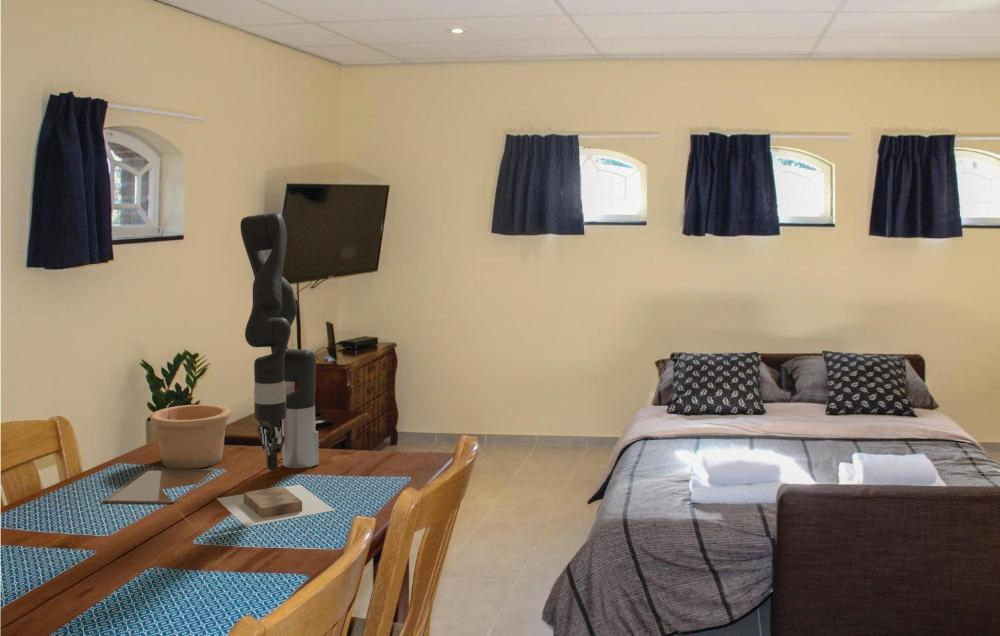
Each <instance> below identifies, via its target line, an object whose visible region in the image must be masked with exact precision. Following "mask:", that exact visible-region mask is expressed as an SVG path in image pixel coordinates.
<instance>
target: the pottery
mask: <svg viewBox="0 0 1000 636" xmlns="http://www.w3.org/2000/svg"><path fill="white" fill-rule="evenodd" d="M149 416H150V417H149V419H150V424H152V425H154V428H155V433H156V437H157V443H158V444H157V445H158V447H159V453H160V457H161V465H162V466H164V467H165V468H167V469H200V468H201V469H203V468H207V467H212V466H214V465H216V464H219V463H220V462H222V460H223V455H224V453H223V452H224V446H225V438H226V437H225V434H226V425H227V420H229V419H230V418H231V411H230V409H229V408H227V407H225V406H222V405H217V404H202V403H201V404H186V405H177V406H169V407H165V408H161V409H158V410H156V411H154V412H152V413H151V414H150V415H149Z"/></svg>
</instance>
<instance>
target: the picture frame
mask: <svg viewBox="0 0 1000 636" xmlns="http://www.w3.org/2000/svg"><path fill="white" fill-rule="evenodd" d="M215 472H216V470H215V469H203V468H201V469H200V468H196V469H173V468H145V469H144V470H143V471H142V472H140V473H139V474H138V475H136V476H134V477H133V478H132V479H131V480H129V481H127V482H126V483H124V485H122V486H121V487H119V488H118V489H116V490H115V491H114V492H112V493H111V494H109V495H108V496H107V497H106V498H104V499H103V500H102V503H103V502H107V503H106V504H136V503H154V505H155V504H157V505H166V504H167V505H169V504H170V503H173V504H172V505H175V503H180V502H181V501H182V500H183V499H184V498H185V497H187V495H189V494H190V493H191V492H192V491H193V490H195V489H196V487H198V486H199V485H200V484H203V483H204V482H205V481H206V480H207V479H209V478H210V477H211V475H213V474H214V473H215ZM187 486H192V487H191V488H190V489H189V490H187V492H186V493H184V494H183V495H182V496H181V497H179V499H178V500H171V498H170V497H169V496H168V495H167V493H165V492H164V490H168V489H174V488H181V487H187ZM170 505H171V504H170Z"/></svg>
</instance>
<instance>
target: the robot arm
mask: <svg viewBox="0 0 1000 636" xmlns="http://www.w3.org/2000/svg"><path fill="white" fill-rule="evenodd" d="M239 228H240V233H241V234H240V235H241V239H242V242H243V247H244V248H245V252H246V256H247V257H248V261H249V263H250V266H251V270H252V274H253V277H254V280H253V282H252V283H253V284H252V308H251V311H250V315H249V317H248V319H247V323H246V326H245V328H244V338H245V341H246V343H247V344H248V345H249V347H250V346H251V347H253V348H270V351H271V353H270V354H266V355H263V356H259V357H257V358H255V360H254V362H253V367H254V368H253V370H254V371H253V373H254V374H253V376H254V387H253V403H254V404H253V407H254V419H255V420H256V421H258V422H261V425H260V427H258V428H257V431H258V434H259V437H260V438H259V439H260V443H261V447H262V449H263V451H264V452H265V456H266V468H267V470H269V471H275V470H278V468H279V466H278V455H279V454H281V453H282V463H283V464H282V465H283V467H285V468H287V469H294V470H295V469H305V468H312V467H314V466H318V465H319V463H320V461H319V459H320V458H319V457H320V456H319V431H317V430H316V383H317V360H316V359H317V358H316V355H315V353H314V351H312V350H310V349H298V348H297V349H295V348H293V349H292V348H291V349H290V348H289V346H288V345H289V341H290V339H291V333H292V330H291V329H292V328H291V327H292V325H293V323H294V320H295V318H296V316H297V312H298V306H297V301H296V297H295V294H294V293H295V292H294V289H293V286H292V285H291V284H290V282H289V281H288V280H287V279H286V278H285V277H284V276H283V271H284V266H285V258H286V250H287V241H288V235H287V234H288V232H287V227H286V223H285V220H284V217H283V216H282V214H280V213H277V212H270V213H265V214H263V213H262V214H256V215H248V216H245V217H242V219H241V221H240V227H239ZM270 250H271V252H270V253H269V256H268V258H267V259H266V257H265V256H264V253H263V252H264V251H270ZM262 251H263V252H262ZM285 382H286V383H299V384H298V387H299V388H298V389H297V390H295V391H293V392H289V393H287V391H286V389H287V388H286V383H285ZM280 422H281V424H280Z"/></svg>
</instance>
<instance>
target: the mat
mask: <svg viewBox="0 0 1000 636" xmlns="http://www.w3.org/2000/svg"><path fill="white" fill-rule="evenodd" d="M283 487H284V488H286V489H287V490H288V491H290V492H291V493H292V494H293V495H295V496H296V497H297V498H299V499H300V500H301V501H302V511H300V512H294V513H289V514H283V515H278V516H272V517H267V518H261V517H260V516H259V515H258V514H256V513H255V512H254V511H253V510H252V509H251V508H250V507H249V506H248V505H246V504H245V503H244V493H242V494H241V493H240V494H234V495H229V496H224V497H223V496H222V497H217V498H216V500H217V501H218V502H219V503H220V504H221V505H222V506H223V507H224V508H226V509H227V510H228V512H229V513H231V514H232V515H233V516H234V517H235V518H236V520H238V521H239V522H240V523H241V524H242V525H243V526H244V527H245V528H246V527H252V526H257V525H262V524H263V525H264V524H268V523H274V522H279V521H286V520H289V519H296V518H302V517H306V516H310V515H317V514H321V513H322V514H323V513H327V512H328V513H329V512H331V511H332V512H333V511H335V509H334V508H333V507H332V506H331V505H329V504H328V503H326V502H325V501H323V500H322V499H320V498H319V497H318V496H316V495H315V494H314V493H312V492H311V491H310V490H308V489H307V488H305V487H304V486H303V485H301V484H295V485H290V486H283Z"/></svg>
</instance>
